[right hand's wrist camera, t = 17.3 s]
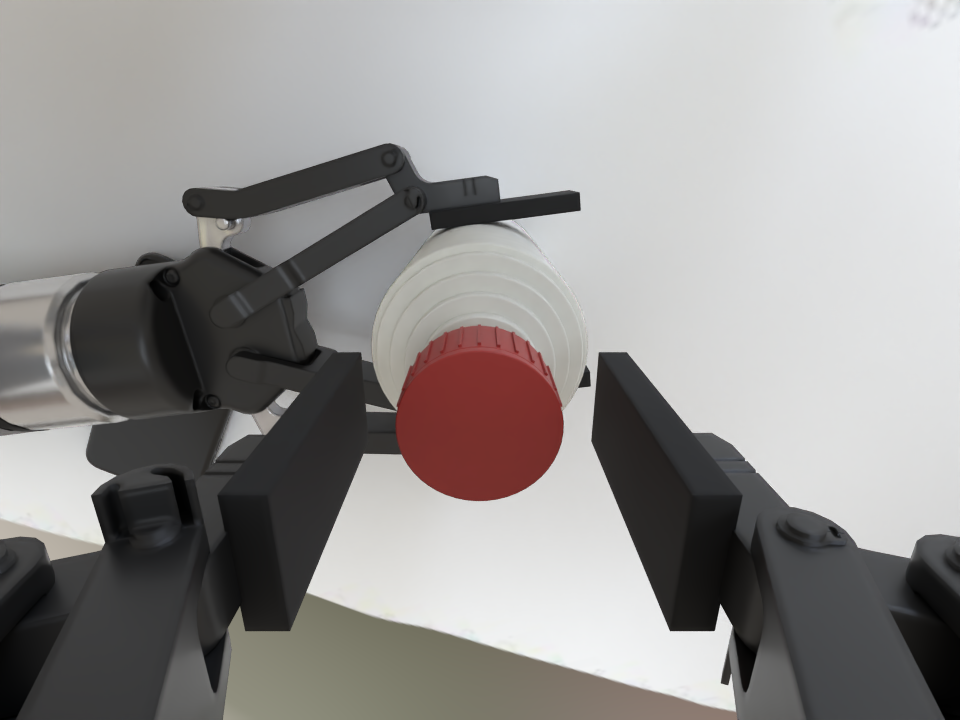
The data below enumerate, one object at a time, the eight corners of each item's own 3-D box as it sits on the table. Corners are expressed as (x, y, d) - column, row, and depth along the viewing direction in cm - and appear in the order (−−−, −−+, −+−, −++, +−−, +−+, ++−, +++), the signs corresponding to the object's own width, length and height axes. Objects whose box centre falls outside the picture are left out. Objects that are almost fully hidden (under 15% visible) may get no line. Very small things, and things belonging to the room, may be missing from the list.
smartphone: (146, 244, 30) (88, 457, 35) (136, 246, 30) (79, 463, 34) (273, 302, 32) (201, 499, 36) (268, 305, 31) (194, 507, 36)
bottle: (459, 356, 33) (434, 582, 15) (393, 254, 31) (266, 373, 13) (563, 296, 32) (677, 465, 13) (502, 185, 29) (538, 208, 11)
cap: (583, 372, 14) (600, 405, 12) (501, 482, 16) (504, 529, 14) (454, 294, 14) (449, 315, 12) (378, 416, 15) (362, 454, 13)
